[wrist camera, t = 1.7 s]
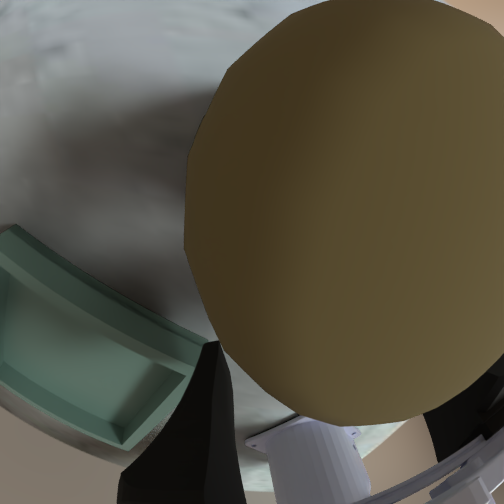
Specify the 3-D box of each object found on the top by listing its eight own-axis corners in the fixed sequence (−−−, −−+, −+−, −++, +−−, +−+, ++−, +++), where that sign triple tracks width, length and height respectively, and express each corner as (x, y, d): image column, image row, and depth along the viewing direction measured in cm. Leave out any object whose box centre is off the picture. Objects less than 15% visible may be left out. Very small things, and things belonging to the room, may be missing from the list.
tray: (208, 340, 15) (208, 373, 13) (131, 427, 18) (128, 451, 16) (15, 223, 11) (-11, 241, 9) (0, 354, 14) (-13, 374, 12)
